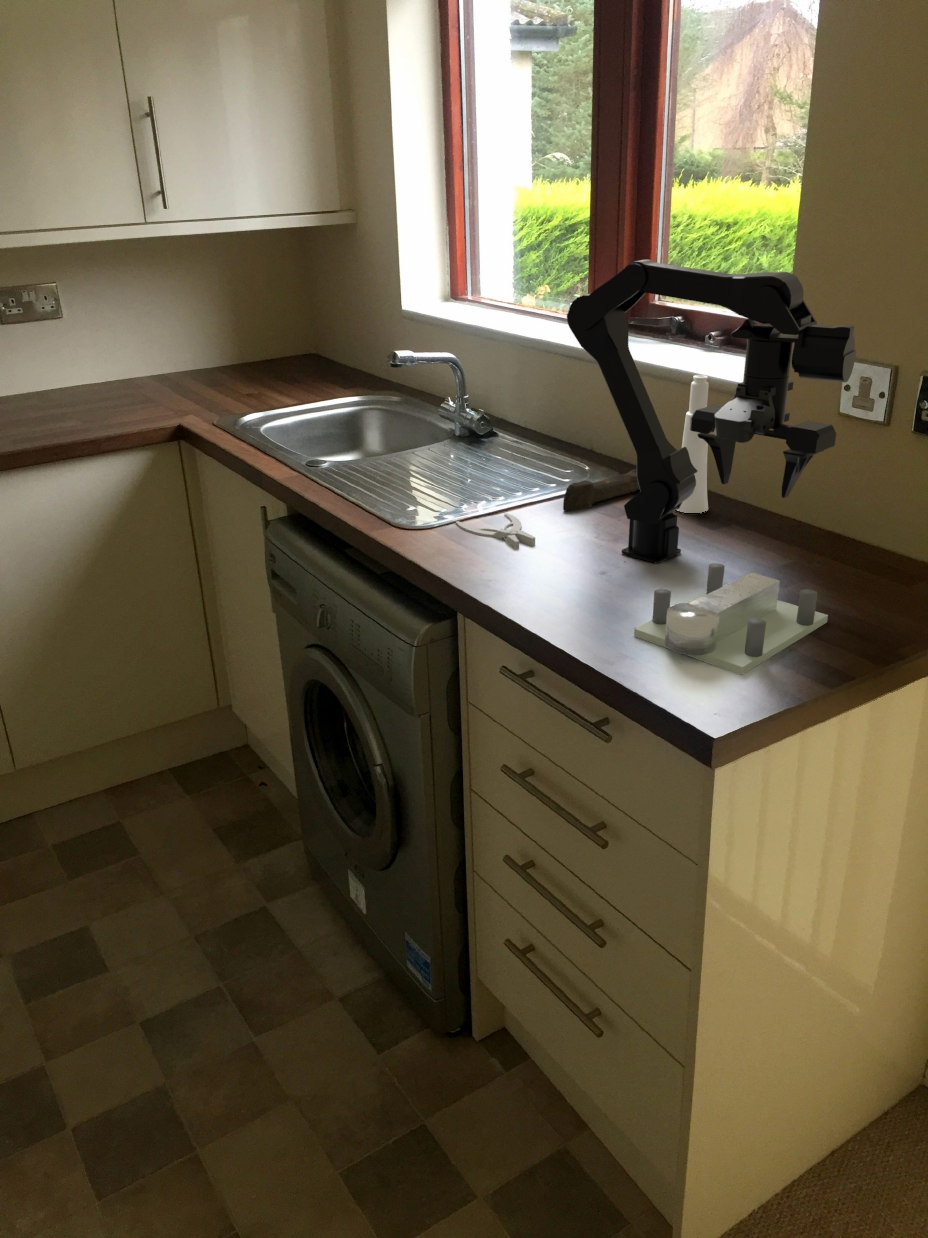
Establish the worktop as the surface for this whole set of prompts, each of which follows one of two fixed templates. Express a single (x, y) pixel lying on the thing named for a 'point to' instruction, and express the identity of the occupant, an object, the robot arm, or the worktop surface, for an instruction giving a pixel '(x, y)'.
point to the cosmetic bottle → (696, 448)
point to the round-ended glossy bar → (719, 614)
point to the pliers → (504, 532)
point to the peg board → (749, 641)
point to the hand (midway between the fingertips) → (754, 490)
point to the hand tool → (599, 490)
